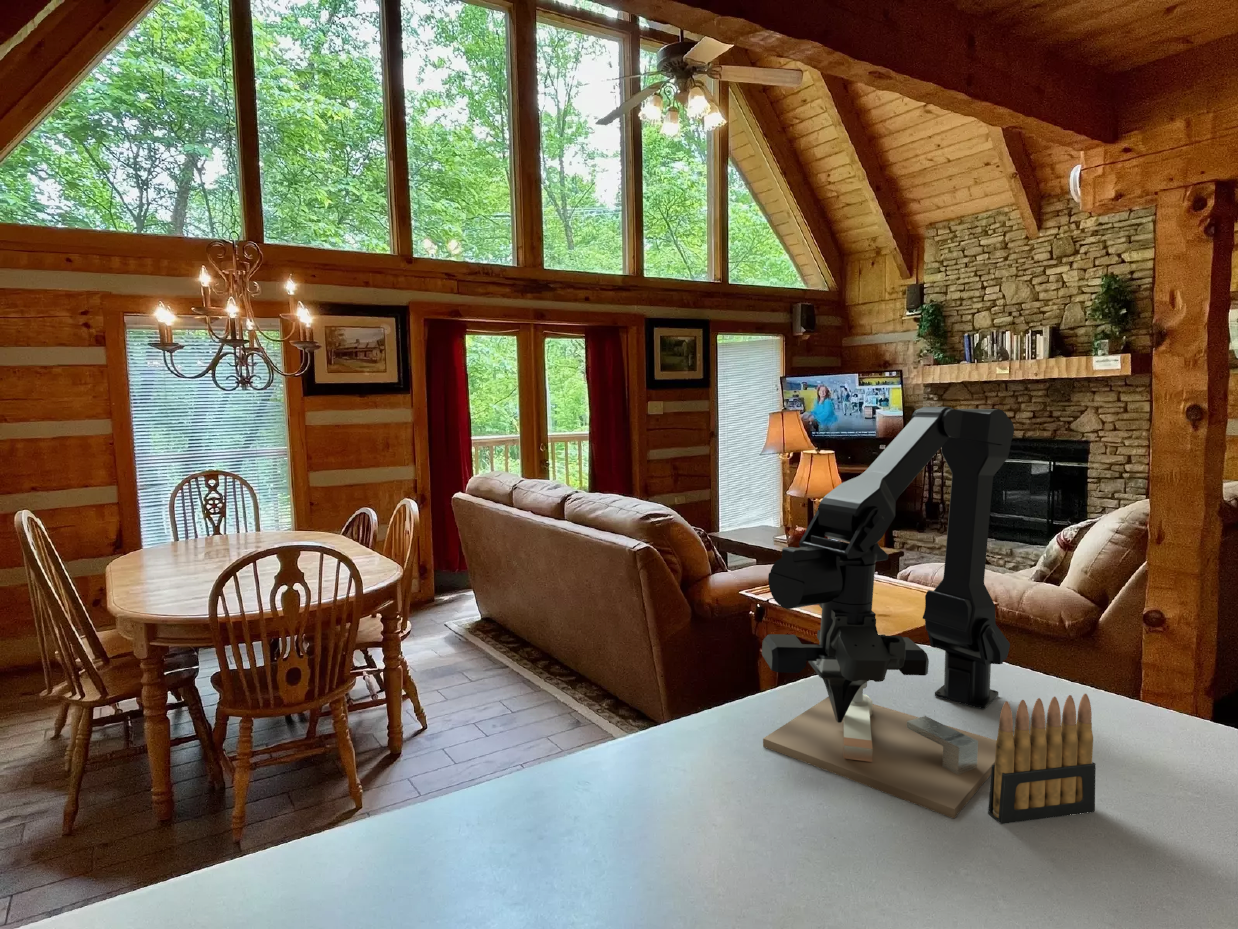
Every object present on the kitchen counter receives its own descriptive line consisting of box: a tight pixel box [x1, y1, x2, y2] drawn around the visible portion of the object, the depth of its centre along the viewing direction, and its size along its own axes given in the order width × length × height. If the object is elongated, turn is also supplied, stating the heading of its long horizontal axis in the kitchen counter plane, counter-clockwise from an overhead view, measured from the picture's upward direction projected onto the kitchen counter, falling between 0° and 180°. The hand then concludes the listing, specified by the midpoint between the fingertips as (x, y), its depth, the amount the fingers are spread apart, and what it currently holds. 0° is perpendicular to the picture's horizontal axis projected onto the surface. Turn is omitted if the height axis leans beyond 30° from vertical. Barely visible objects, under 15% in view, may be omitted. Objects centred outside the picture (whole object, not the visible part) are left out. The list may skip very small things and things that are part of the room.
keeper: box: [907, 715, 978, 775], centre depth 81 cm, size 3×7×3 cm, turn 26°
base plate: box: [762, 695, 997, 820], centre depth 85 cm, size 18×22×1 cm
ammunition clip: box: [987, 693, 1097, 825], centre depth 72 cm, size 11×2×12 cm, turn 100°
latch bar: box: [844, 682, 874, 762], centre depth 88 cm, size 15×4×4 cm, turn 163°
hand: (838, 721), depth 88 cm, fingers closed
